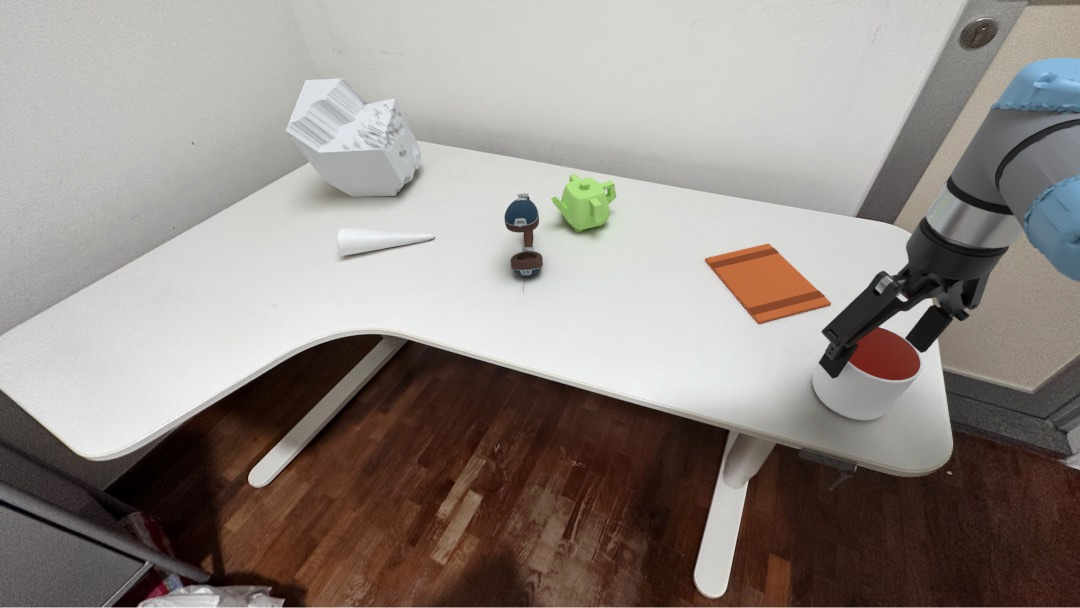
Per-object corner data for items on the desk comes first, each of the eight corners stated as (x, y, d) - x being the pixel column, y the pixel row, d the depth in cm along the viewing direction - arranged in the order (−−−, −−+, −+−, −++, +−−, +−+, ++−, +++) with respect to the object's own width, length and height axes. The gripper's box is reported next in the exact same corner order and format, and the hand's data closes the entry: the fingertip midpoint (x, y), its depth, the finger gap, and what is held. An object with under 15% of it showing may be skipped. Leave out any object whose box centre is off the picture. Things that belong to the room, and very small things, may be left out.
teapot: (571, 202, 108) (570, 164, 101) (617, 211, 104) (619, 172, 97) (550, 230, 101) (548, 191, 94) (600, 241, 97) (601, 201, 90)
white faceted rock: (427, 155, 124) (390, 75, 101) (417, 203, 117) (375, 128, 95) (356, 157, 126) (305, 79, 104) (342, 204, 120) (285, 131, 97)
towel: (830, 305, 80) (831, 302, 79) (758, 324, 78) (759, 321, 77) (767, 245, 92) (768, 242, 92) (704, 260, 90) (705, 257, 90)
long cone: (433, 261, 98) (341, 261, 97) (436, 245, 103) (349, 245, 102) (430, 238, 95) (334, 238, 94) (434, 223, 100) (343, 222, 99)
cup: (818, 356, 72) (844, 313, 65) (891, 385, 68) (927, 342, 61) (801, 402, 67) (827, 359, 60) (879, 436, 62) (917, 395, 55)
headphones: (542, 305, 83) (544, 241, 100) (536, 233, 73) (539, 176, 90) (508, 307, 83) (516, 243, 100) (497, 235, 74) (508, 177, 91)
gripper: (1029, 186, 51) (927, 316, 66) (832, 234, 47) (772, 359, 62) (1104, 224, 45) (974, 355, 61) (889, 280, 42) (808, 404, 57)
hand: (871, 357), depth 62 cm, fingers open, 13 cm apart
